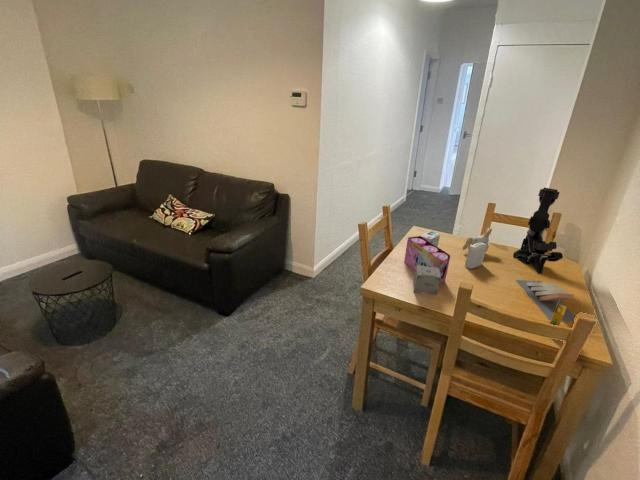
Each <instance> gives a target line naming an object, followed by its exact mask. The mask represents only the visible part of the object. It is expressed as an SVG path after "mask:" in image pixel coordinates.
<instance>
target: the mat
mask: <svg viewBox="0 0 640 480" xmlns="http://www.w3.org/2000/svg"><path fill="white" fill-rule="evenodd" d="M515 281H516V282H517V284H519V286H520V287H521V288H522V289H523V291H524V292H525V293H526V294H527V295H528V296H529V298H530V299H531V300H532V302H534V304H535V305H536V306H537V307H538V308H539V310H540V311H541V312H542V313H543V314H544V315H545V316H546V318H547V320H549V321H551V318H552V316H553V314H554V311H555V309H556V307H557V304H560V305H563V306H566V305H565V303H563V301H557V302H549V301H540V297H542V296H536V293H535V292H539V291H531V287H536V286H527V282H538V283H544V282H543V281H538V280H537V281H536V280H526V279H515ZM558 302H559V303H558ZM575 316H576V315H575V314H574V313H573V312H572V310H570V309H569V308H568V307H567V308H566V311H565V313H564V316H563V318H562V320H561V322H571V323H575V322H574V318H575Z"/></svg>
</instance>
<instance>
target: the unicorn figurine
mask: <svg viewBox="0 0 640 480" xmlns="http://www.w3.org/2000/svg"><path fill="white" fill-rule="evenodd" d="M492 230H493V228H491V227H490V226H489V224H487V228H486V231H485V232H484V233H483V234H481V235H479V236H475V235H474V236H470V237H469V236H468V237H467V239H466V241H465V243H464V244H463V246H462V251H464V250H468V251H469V248H470V247H471V246H472V245H474V244H476V243H484V244H486V247H487V248H486V251H485V254H486V252H487V251H488V249H489V248H490V247H489V241H490V240H489V238H490V237H489V236H490V235H491V234H492Z"/></svg>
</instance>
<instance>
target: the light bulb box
mask: <svg viewBox="0 0 640 480" xmlns="http://www.w3.org/2000/svg"><path fill="white" fill-rule="evenodd" d="M419 236H421V237H423V238H424V239H426V240H427V241H429V242H430V243H432V244H433V245H435V246H437V247H438V246H439V241H440V237H441V234H440V233H437V232H435V231H431V230H428V231H426V232H424V233H422V234H419ZM438 248H439V247H438Z"/></svg>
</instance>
